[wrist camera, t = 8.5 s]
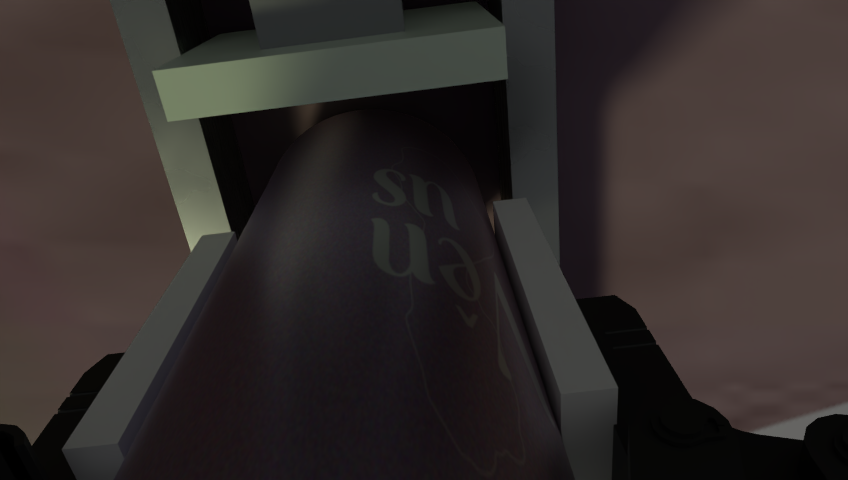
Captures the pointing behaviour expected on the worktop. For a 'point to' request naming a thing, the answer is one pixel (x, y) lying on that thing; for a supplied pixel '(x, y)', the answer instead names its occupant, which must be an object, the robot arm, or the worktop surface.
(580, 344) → the robot arm
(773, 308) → the worktop surface
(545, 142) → the lane
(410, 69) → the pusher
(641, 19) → the worktop surface
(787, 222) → the worktop surface
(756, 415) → the worktop surface
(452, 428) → the beverage can
